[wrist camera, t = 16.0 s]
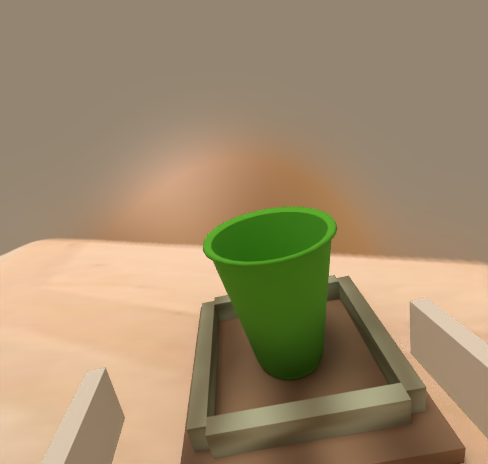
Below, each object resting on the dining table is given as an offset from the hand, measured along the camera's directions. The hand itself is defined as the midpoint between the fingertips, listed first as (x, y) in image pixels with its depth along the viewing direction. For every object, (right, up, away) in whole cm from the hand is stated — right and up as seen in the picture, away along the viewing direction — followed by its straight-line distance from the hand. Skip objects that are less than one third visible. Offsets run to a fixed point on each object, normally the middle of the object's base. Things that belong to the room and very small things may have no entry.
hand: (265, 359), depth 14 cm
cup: (+3, -5, +12) cm, 13 cm away
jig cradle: (+3, -5, +13) cm, 14 cm away
